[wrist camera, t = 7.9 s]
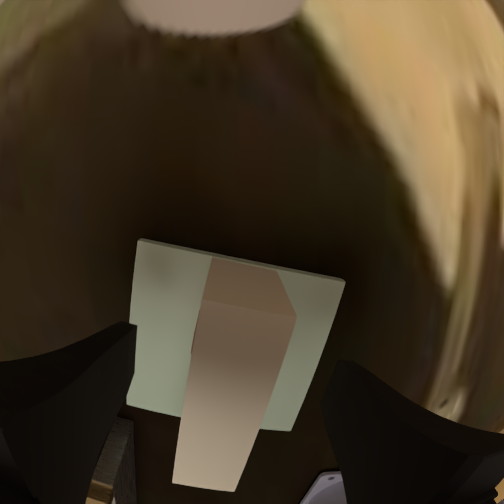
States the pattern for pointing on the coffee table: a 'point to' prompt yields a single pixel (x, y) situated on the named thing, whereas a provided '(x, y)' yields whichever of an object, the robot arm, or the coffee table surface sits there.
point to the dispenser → (115, 468)
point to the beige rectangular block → (231, 372)
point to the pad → (185, 318)
